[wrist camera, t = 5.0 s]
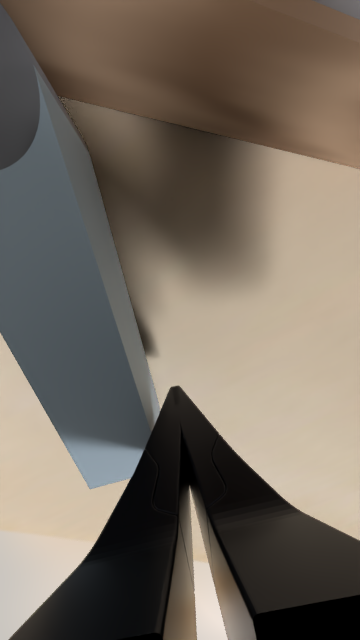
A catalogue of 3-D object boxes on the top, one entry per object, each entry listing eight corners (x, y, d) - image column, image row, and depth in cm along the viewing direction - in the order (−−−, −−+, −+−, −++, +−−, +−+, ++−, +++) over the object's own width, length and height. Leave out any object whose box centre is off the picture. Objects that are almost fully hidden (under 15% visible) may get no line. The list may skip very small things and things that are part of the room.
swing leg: (159, 405, 11) (162, 469, 8) (108, 418, 11) (89, 489, 8) (74, 98, 6) (-9, -68, 3) (-21, 110, 6) (-221, -56, 3)
